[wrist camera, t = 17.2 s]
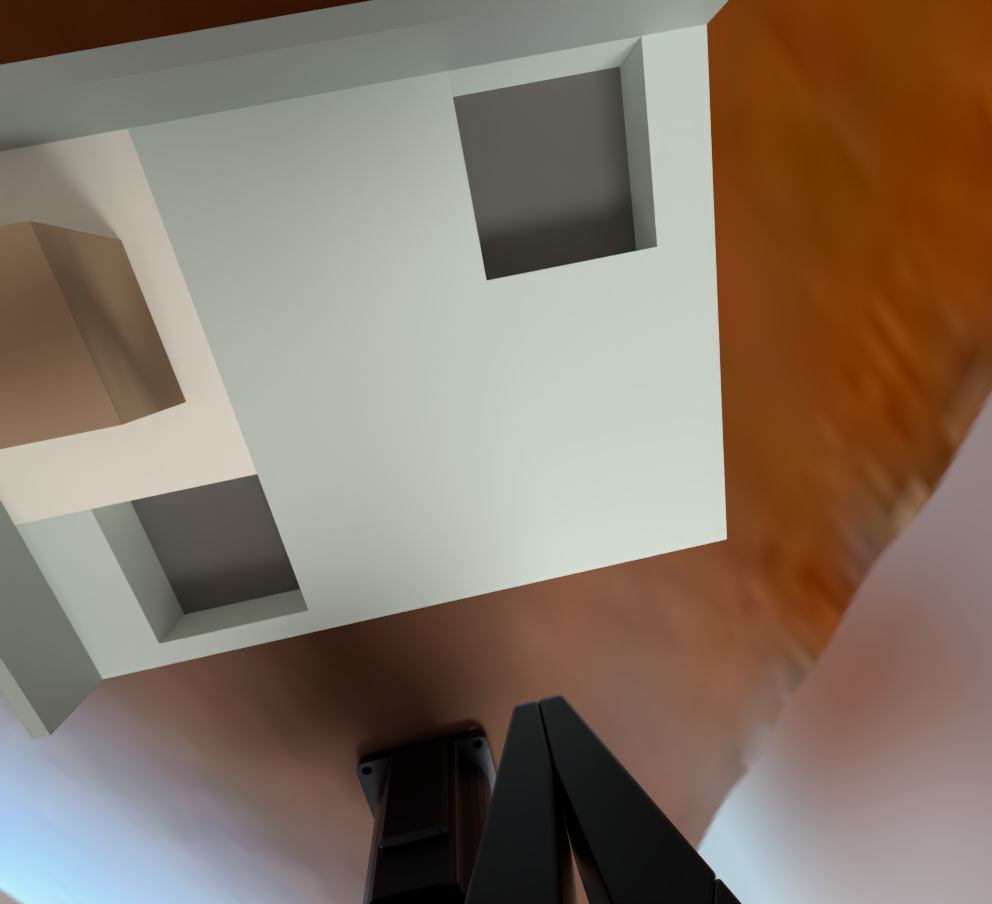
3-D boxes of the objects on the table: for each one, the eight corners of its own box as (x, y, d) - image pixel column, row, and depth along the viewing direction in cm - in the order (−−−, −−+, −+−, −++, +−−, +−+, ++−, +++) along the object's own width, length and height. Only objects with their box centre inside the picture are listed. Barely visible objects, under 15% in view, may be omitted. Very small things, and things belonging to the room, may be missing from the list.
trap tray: (701, 518, 21) (766, 572, 17) (121, 647, 20) (32, 739, 16) (673, 37, 15) (760, -68, 11) (-130, 182, 14) (-373, 129, 10)
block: (186, 401, 15) (121, 424, 12) (32, 432, 15) (-72, 463, 12) (121, 240, 14) (29, 220, 11) (-50, 272, 14) (-194, 261, 11)
